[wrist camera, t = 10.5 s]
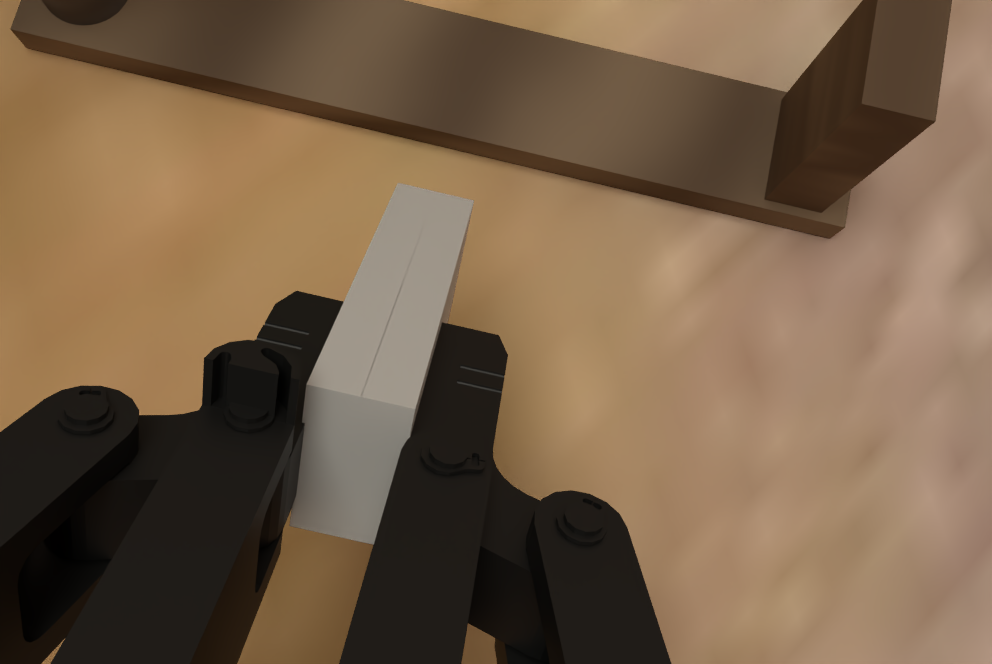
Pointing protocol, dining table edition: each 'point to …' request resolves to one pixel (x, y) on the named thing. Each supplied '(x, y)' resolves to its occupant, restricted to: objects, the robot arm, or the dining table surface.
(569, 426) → the dining table surface
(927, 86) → the gate frame
